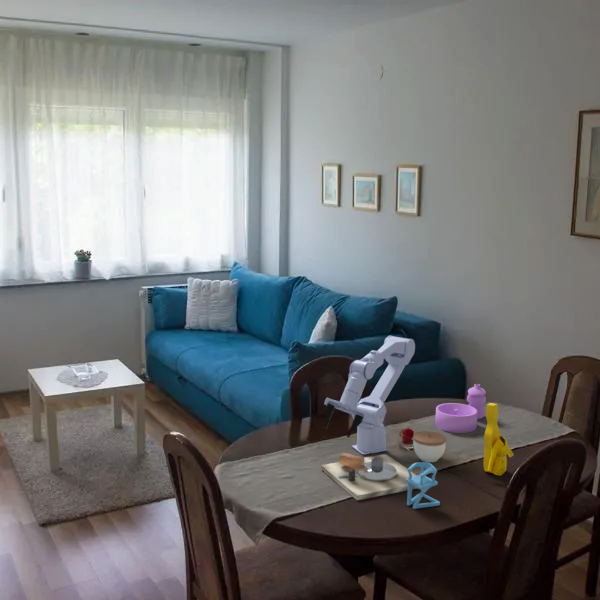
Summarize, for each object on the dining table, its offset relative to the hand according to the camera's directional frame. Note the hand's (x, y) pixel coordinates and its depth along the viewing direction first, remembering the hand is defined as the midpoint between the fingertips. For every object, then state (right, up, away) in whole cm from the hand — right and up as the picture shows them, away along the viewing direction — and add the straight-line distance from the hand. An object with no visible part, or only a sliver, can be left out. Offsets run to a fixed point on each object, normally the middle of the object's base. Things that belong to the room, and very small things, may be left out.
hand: (336, 432), depth 239 cm
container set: (+50, -5, +45) cm, 68 cm away
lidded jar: (+31, -11, +10) cm, 34 cm away
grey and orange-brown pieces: (+9, -11, -5) cm, 15 cm away
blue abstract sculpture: (+23, -17, -23) cm, 37 cm away
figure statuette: (+51, -13, +1) cm, 52 cm away
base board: (+11, -13, -6) cm, 18 cm away
